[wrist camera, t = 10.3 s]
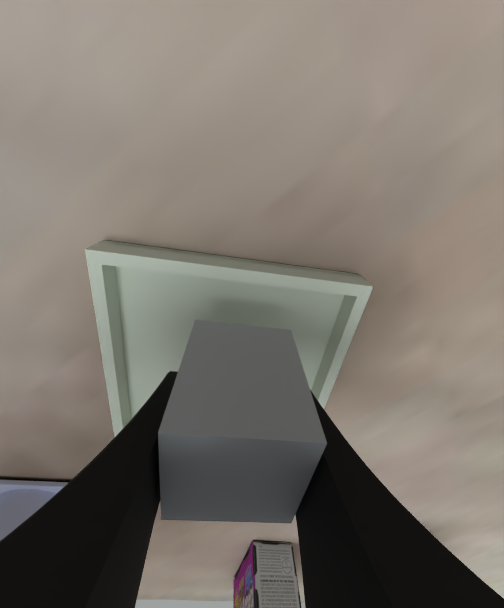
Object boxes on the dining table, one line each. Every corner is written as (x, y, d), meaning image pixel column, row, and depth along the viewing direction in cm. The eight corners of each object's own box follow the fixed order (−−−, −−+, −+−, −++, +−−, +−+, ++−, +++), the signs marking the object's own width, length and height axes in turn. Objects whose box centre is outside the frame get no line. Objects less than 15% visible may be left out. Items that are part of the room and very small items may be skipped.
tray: (300, 431, 19) (306, 453, 18) (126, 420, 18) (115, 442, 16) (358, 273, 13) (373, 286, 12) (104, 240, 12) (84, 249, 11)
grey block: (273, 397, 12) (291, 523, 8) (191, 390, 12) (161, 519, 7) (291, 329, 10) (326, 443, 6) (195, 319, 10) (158, 432, 6)
